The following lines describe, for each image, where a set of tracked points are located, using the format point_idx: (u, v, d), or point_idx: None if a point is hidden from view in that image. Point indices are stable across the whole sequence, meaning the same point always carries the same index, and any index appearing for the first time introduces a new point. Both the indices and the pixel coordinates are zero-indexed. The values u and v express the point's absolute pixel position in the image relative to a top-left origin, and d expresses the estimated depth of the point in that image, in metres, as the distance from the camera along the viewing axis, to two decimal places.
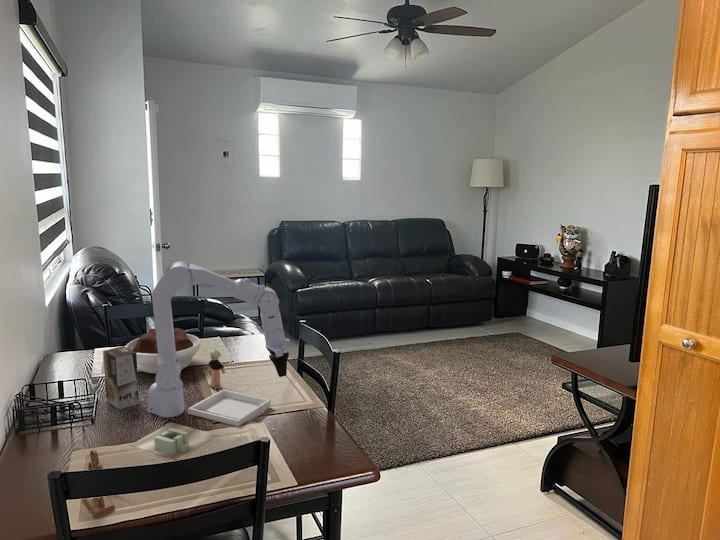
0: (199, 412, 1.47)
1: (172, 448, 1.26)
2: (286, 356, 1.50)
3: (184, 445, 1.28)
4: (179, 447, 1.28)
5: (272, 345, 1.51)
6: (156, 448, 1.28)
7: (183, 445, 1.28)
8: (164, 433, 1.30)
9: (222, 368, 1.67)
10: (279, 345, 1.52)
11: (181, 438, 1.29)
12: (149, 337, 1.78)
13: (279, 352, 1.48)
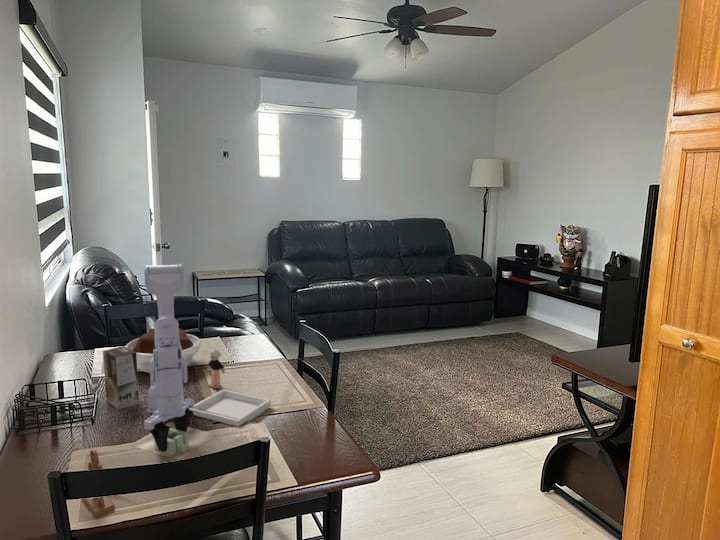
0: (199, 412, 1.47)
1: (172, 448, 1.26)
2: (160, 431, 1.23)
3: (184, 445, 1.28)
4: (179, 447, 1.28)
5: (158, 412, 1.26)
6: (156, 448, 1.28)
7: (183, 445, 1.28)
8: None
9: (222, 368, 1.67)
10: (163, 415, 1.25)
11: (181, 438, 1.29)
12: (149, 337, 1.78)
13: (147, 424, 1.22)
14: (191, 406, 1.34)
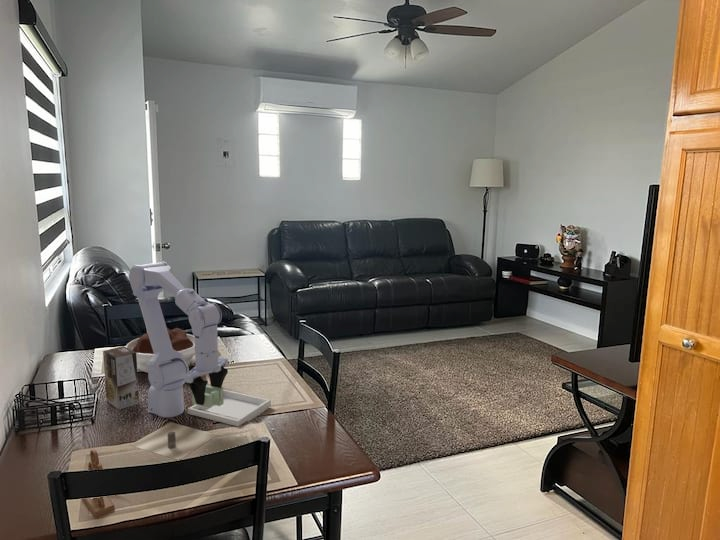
0: (199, 412, 1.47)
1: (209, 402, 1.35)
2: (199, 384, 1.32)
3: (220, 399, 1.37)
4: (215, 401, 1.36)
5: (196, 367, 1.35)
6: (194, 402, 1.37)
7: (219, 399, 1.37)
8: None
9: None
10: (201, 370, 1.34)
11: (217, 393, 1.37)
12: None
13: (187, 377, 1.30)
14: (225, 364, 1.42)
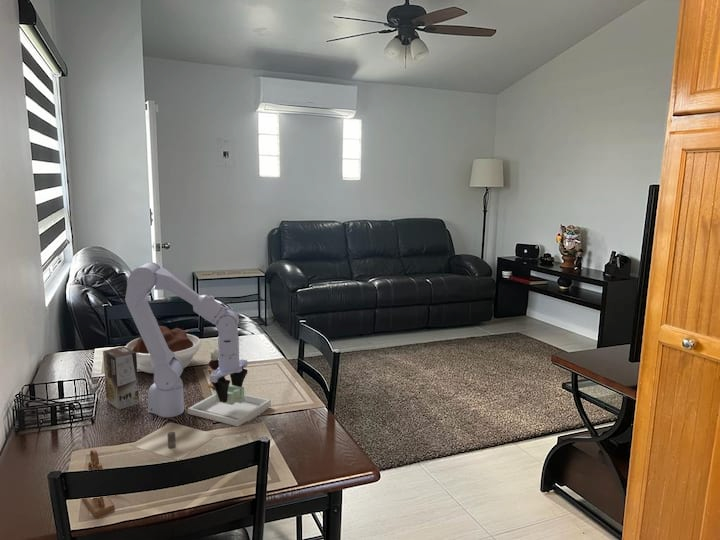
0: (199, 412, 1.47)
1: (232, 399, 1.48)
2: (222, 384, 1.45)
3: (241, 397, 1.50)
4: (237, 399, 1.49)
5: (219, 368, 1.48)
6: (217, 400, 1.50)
7: (240, 397, 1.50)
8: None
9: None
10: (224, 371, 1.47)
11: (239, 391, 1.50)
12: None
13: (212, 377, 1.43)
14: (245, 365, 1.55)
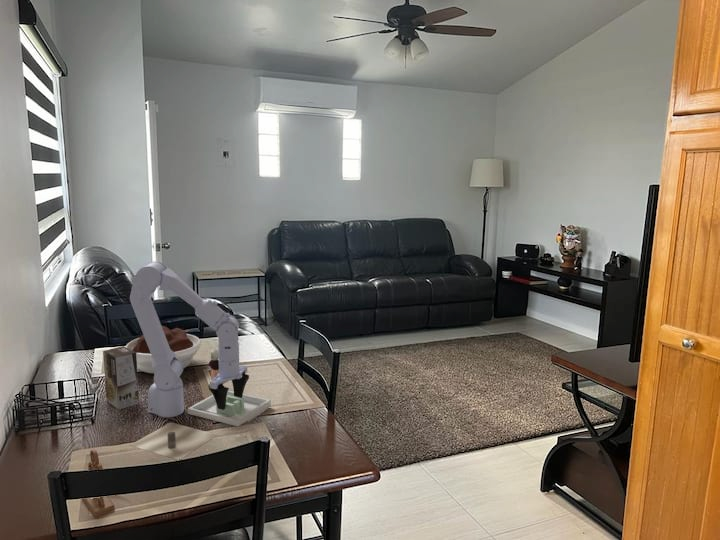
0: (199, 412, 1.47)
1: (232, 411, 1.48)
2: (221, 391, 1.44)
3: (241, 409, 1.50)
4: (237, 410, 1.50)
5: (219, 375, 1.48)
6: (217, 411, 1.50)
7: (241, 409, 1.50)
8: None
9: None
10: (224, 377, 1.47)
11: (239, 403, 1.51)
12: None
13: (212, 384, 1.44)
14: (245, 372, 1.56)
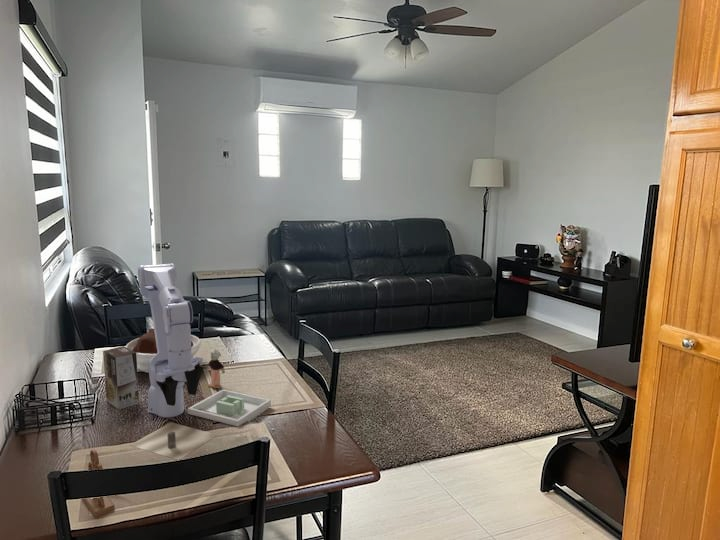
0: (199, 412, 1.47)
1: (232, 411, 1.48)
2: (169, 384, 1.28)
3: (241, 409, 1.50)
4: (237, 410, 1.50)
5: (169, 366, 1.32)
6: (217, 411, 1.50)
7: (241, 409, 1.50)
8: (224, 399, 1.52)
9: (222, 368, 1.67)
10: (174, 369, 1.31)
11: (239, 403, 1.51)
12: (149, 337, 1.78)
13: (159, 376, 1.28)
14: (200, 364, 1.40)
